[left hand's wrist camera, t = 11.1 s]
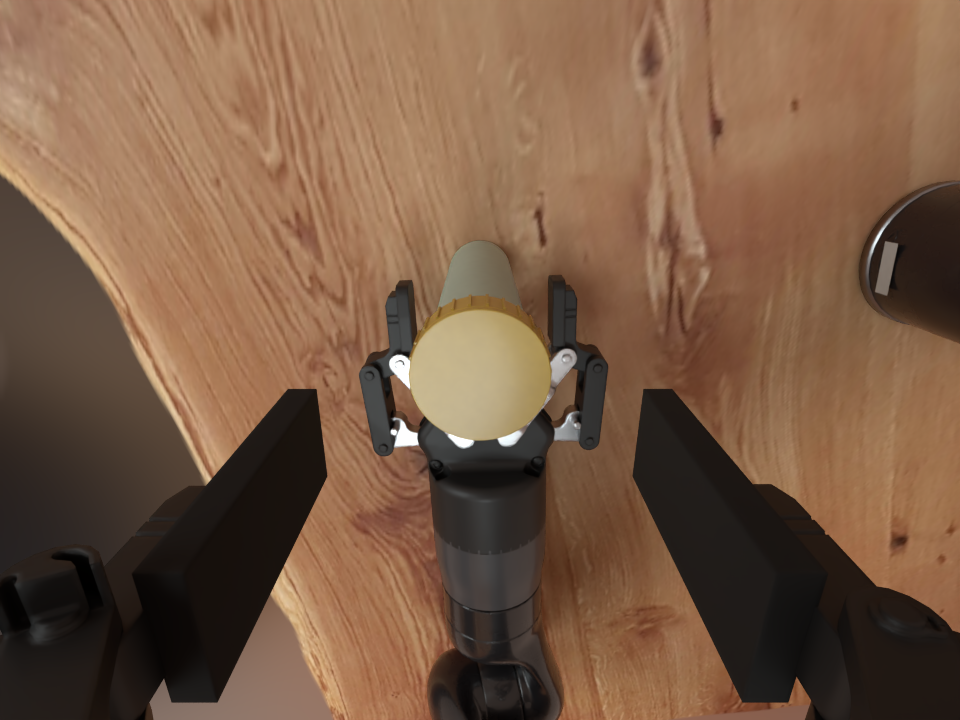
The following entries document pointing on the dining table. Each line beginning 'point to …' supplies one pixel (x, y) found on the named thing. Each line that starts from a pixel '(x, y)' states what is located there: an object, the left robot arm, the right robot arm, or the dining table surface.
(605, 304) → the dining table surface
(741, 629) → the left robot arm
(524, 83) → the dining table surface
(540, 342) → the lid
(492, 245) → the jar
